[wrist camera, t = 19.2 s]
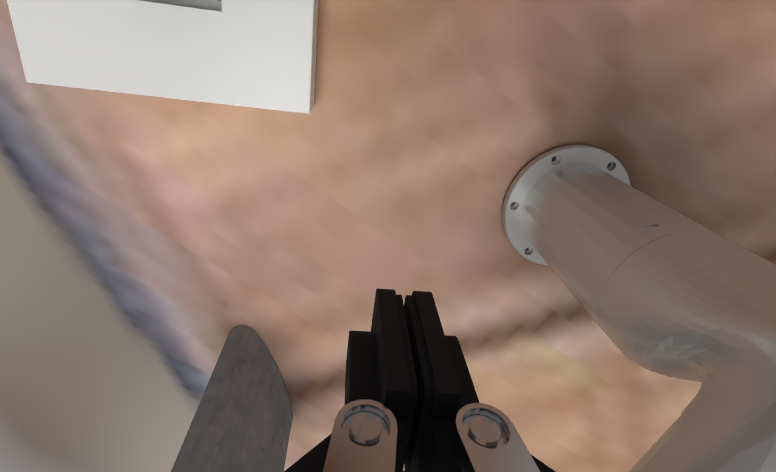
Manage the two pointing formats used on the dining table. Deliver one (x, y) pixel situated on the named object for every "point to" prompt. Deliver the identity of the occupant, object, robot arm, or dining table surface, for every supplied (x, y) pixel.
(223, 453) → the hip flask
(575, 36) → the dining table surface
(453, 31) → the dining table surface
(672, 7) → the dining table surface
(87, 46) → the socket
